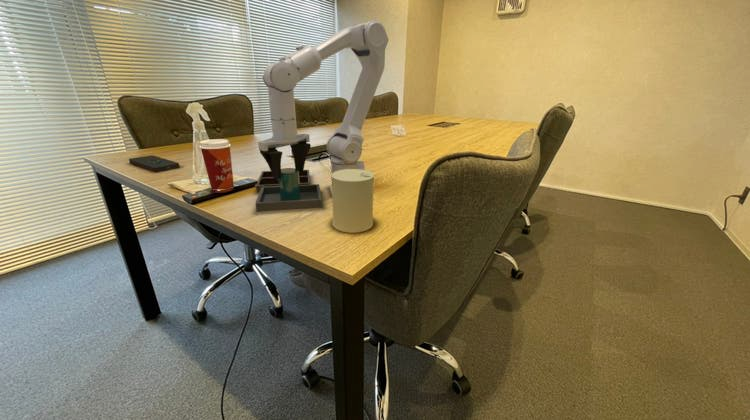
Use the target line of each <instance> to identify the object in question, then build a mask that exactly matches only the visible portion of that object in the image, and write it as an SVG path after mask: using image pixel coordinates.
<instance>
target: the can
mask: <svg viewBox="0 0 750 420" xmlns="http://www.w3.org/2000/svg"><path fill="white" fill-rule="evenodd" d="M330 177H331V186H332V194H331V197H332V223H331V224H332V226H333V228H334V229H335V230H337V231H339V232H342V233H348V234H350V233H351V234H356V233H362V232H367V231H369V230H370V229H371V228H372V227H373V226H374V219H373V217H374V214H373V213H374V212H373V211H374V181H375V173H373V172H372V171H369V170H366V169H365V170H360V169H344V170H339V171H335V172H333V173H332V172H331V174H330Z"/></svg>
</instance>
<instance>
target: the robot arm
mask: <svg viewBox="0 0 750 420" xmlns="http://www.w3.org/2000/svg"><path fill="white" fill-rule="evenodd" d="M388 36H389V35H388V34H387V30H386V28H385V25H384V24H383V23H382V21H379V20H377V19H373V20H369V21H367V22H363V23H360V24H357V23H356V24H352V25H351V26H349V27H345V28H343V29H340V30H339V31H338V32H336V33H334V34H333V35H331V36H329V37H328V38H327V39H325V40H323V41H322V42H320V43H319V44H317V45H316V46H314V47H313V46H311V45H308V44H305V45H303V44H299V45H297V46H296V47H295V51H293V52H291V53H290V54H288V55H287V56H286V55H281V56H279V58H278V60H279V61H278V62H276V63H275V62H273V63H269V64H268V65H267V66H266V67H265V70H264V71H263V75H262V81H263V84H264V85H265V86H266V88H267V92H268V105H269V115H270V123H271V130H272V131H271V132H272V136H271V137H269V138H267V139H264V140H260V141H257V145H258V146H257V147H258V150H259V153H260V155H261V156H262V157H263V159H264V160H265V162H266V164H267V165H268V168H269V171H271V173H272V175H273V178H277V179H280V178H281V169H282V163H281V162H282V156H283V151H280V150H279V149H278V148H283V147H288V146H289V147H290V149H291V152H292V156H293V162H294V168H295V169H298V170H299V171H300V172H303V170H305V163H306V161H307V156H308V154H309V151H310V149H311V148H312V147H311V146H312V145H311V143H310V142H311V141H310V139H311V138H310V133H309V134H308V133H298V126H297V115H296V102H295V92H294V91H295V90H294V89H295V88H296V86H297V84H298V83H299V82H302V81H303V80H304V79H307V78H308V77H309V76H311V75H313V74H314V73H316V72H317V71H319V70H320V69H321V65H322V61H324V60H326V59H328V58H330V57H332V56H333V55H335V54H337V53H339V52H342V51H343V50H344V49H350V50H351V51H352V53H353V54H354V55H355V57H356V58H357V60H358V61H359V63H360V65H361V71H360V74H359V77H358V79H357V82H356V83H355V87H354V89H353V93H352V95H351V97H350V101H349V102H348V103H349V104H348V106H347V108H346V111H345V115H344V116H343V120H342V122H341V124H339V126H337V127H336V128H335V129H334V131H333V133H332V135H331V136H330V137H329V138H328V140H327V142H326V151H327V153H328V154H329V155H330V164H331V166H330V168H331V169H330V171H331V174H332V173H333V172H335V171H339V170H344V169H360V170H366V165H365V162H364V161H363V160H359V159H360V158H361V156H362V153H363V142H364V141H365V140H364V137H363V134H362V129H363V127H364V123H365V121H366V118H367V115H368V113H369V110H370V108H371V105H372V103H373V100H374V97H375V95H376V91H377V89H378V86H379V84H380V81H381V78H382V75H383V73H384V70H385V67H386V66H385V63H386V61H385V60H386V49H387V46H388V43H389V40H390V39H389V37H388ZM329 190H330V193H331V195H332V185H329Z"/></svg>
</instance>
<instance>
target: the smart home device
mask: <svg viewBox="0 0 750 420" xmlns="http://www.w3.org/2000/svg"><path fill="white" fill-rule="evenodd" d="M128 161H129V164H130V165H133V166H136V167H139V168H140V169H141V168H142V169H145V170H147V171H150V172H153V173H160V172H161V173H162V172H167V171H170V170H175V169H180V168H181V167H180V163H179V162H178V161H177V162H176V161H174V160H170V159H166V158H164V157H160V156H157V155H152V154H151V155H145V156H144V155H143V156H138V157H133V158H128Z"/></svg>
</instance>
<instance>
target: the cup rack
mask: <svg viewBox="0 0 750 420" xmlns="http://www.w3.org/2000/svg"><path fill="white" fill-rule="evenodd" d="M299 183H300V185H311V175H310V170H309V169H304V170H303V172H300V171H299ZM267 186H279V183H278V179H277V178H273V175H272V173H271V170H262V171H261V172H260V175H259V178H258V179H257V182H256V185H255V189H256V193H257V194H259V193H260V190H261V187H267Z"/></svg>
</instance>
